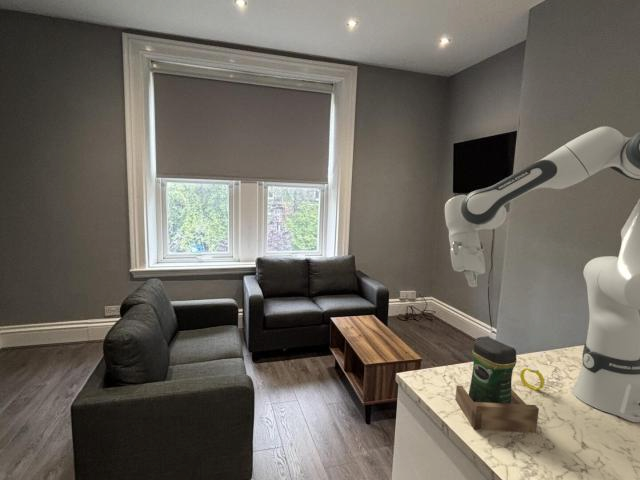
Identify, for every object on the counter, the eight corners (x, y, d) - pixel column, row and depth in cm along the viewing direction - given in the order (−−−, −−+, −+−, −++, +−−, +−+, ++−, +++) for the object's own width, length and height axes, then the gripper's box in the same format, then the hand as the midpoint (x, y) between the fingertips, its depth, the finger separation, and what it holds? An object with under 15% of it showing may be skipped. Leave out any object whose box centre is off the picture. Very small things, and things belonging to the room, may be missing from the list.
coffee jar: (516, 418, 84) (524, 347, 81) (492, 426, 81) (500, 352, 78) (484, 396, 92) (490, 331, 90) (461, 402, 89) (468, 335, 87)
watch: (518, 384, 100) (519, 365, 99) (523, 382, 101) (524, 362, 101) (539, 393, 95) (540, 373, 94) (545, 391, 96) (546, 370, 96)
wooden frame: (509, 402, 90) (511, 381, 90) (536, 432, 79) (539, 408, 78) (455, 399, 91) (457, 378, 90) (473, 429, 79) (476, 405, 78)
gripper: (462, 237, 101) (472, 283, 97) (484, 246, 115) (493, 286, 112) (442, 242, 105) (450, 286, 101) (466, 250, 120) (474, 289, 116)
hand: (473, 286), depth 107 cm, fingers closed
